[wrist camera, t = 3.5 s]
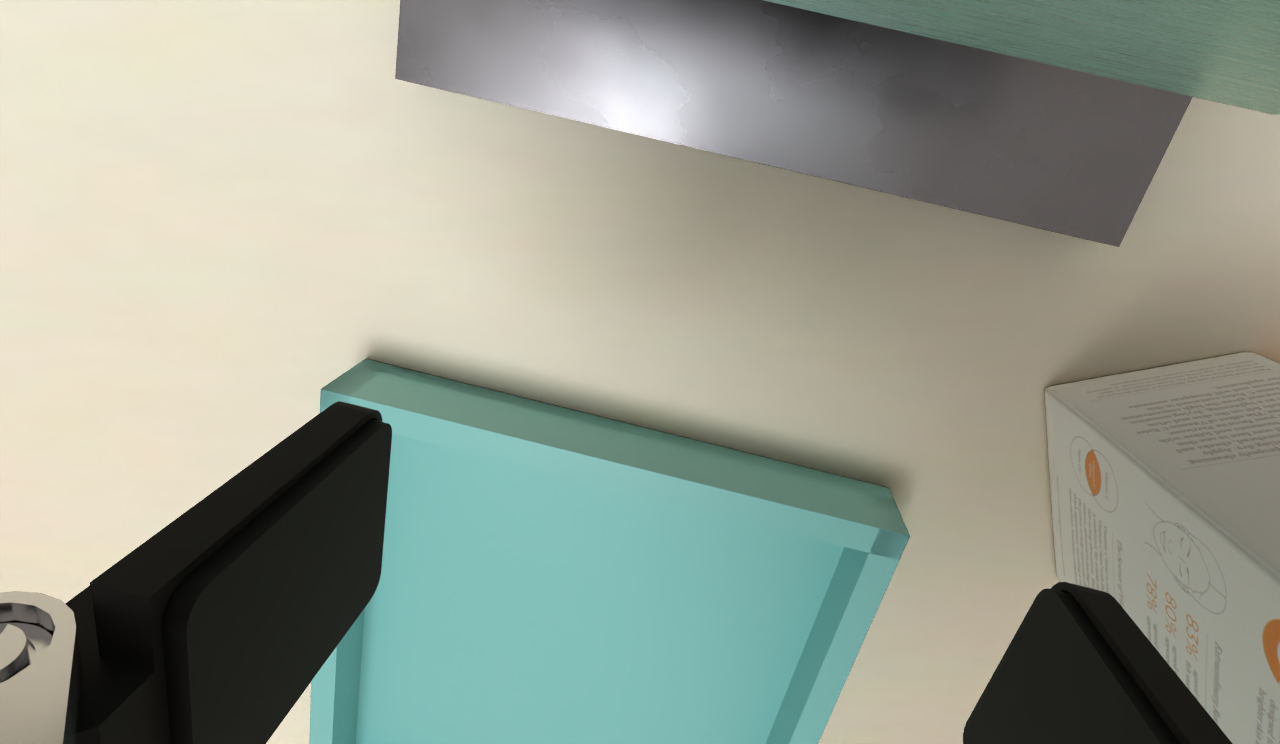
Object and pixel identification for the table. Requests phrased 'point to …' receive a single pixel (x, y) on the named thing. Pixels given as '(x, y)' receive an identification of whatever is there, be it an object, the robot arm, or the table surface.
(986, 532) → the table surface
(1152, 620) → the small box
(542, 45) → the mounted unit
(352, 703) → the teal tray
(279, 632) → the robot arm
